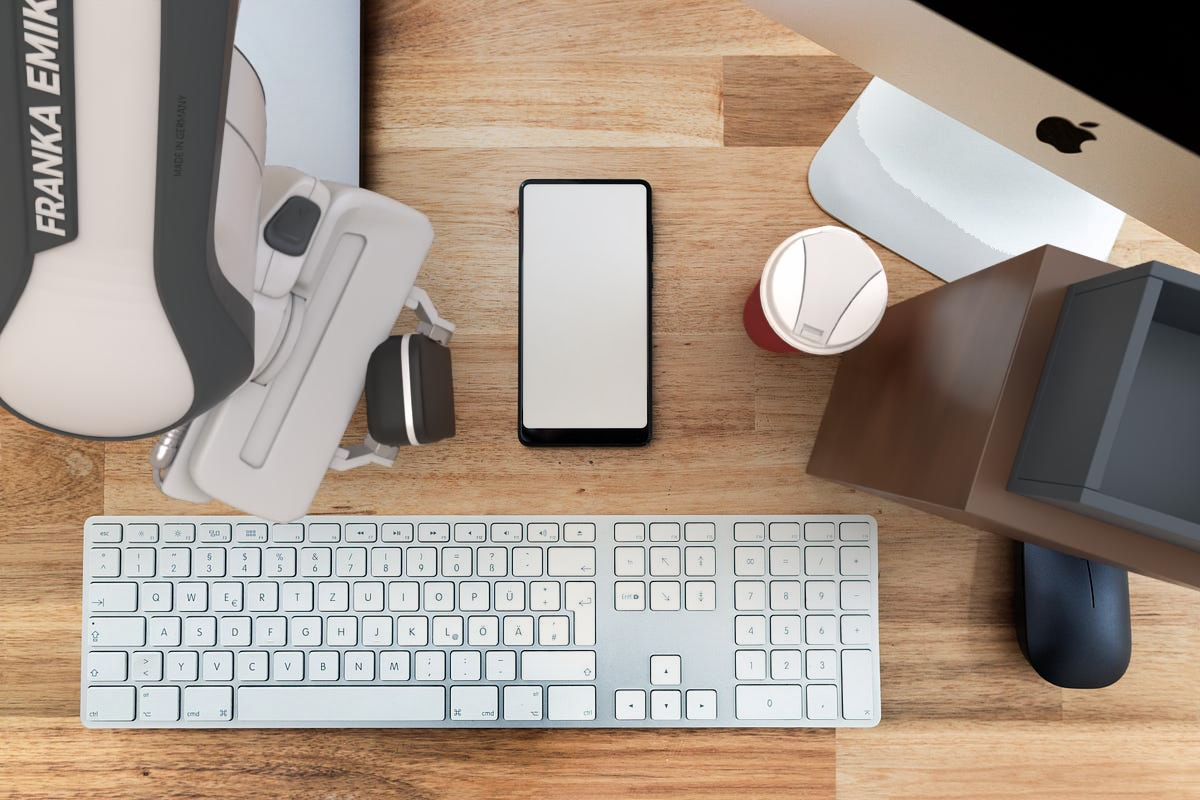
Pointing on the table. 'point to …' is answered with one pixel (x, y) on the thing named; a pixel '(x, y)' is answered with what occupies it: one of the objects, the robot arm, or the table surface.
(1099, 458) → the bin
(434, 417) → the battery charger
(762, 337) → the paper cup
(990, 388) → the stand
